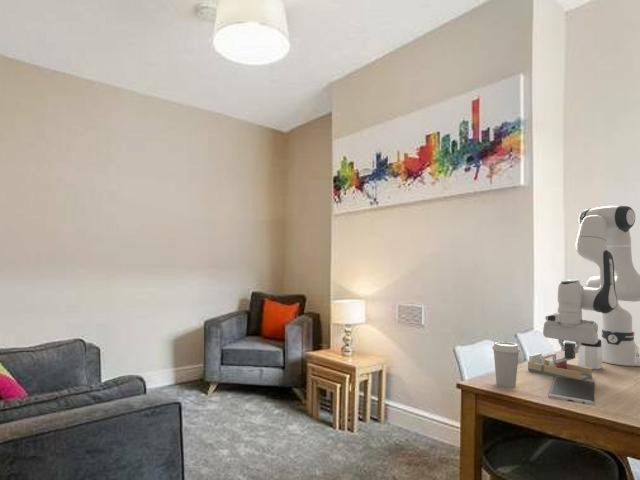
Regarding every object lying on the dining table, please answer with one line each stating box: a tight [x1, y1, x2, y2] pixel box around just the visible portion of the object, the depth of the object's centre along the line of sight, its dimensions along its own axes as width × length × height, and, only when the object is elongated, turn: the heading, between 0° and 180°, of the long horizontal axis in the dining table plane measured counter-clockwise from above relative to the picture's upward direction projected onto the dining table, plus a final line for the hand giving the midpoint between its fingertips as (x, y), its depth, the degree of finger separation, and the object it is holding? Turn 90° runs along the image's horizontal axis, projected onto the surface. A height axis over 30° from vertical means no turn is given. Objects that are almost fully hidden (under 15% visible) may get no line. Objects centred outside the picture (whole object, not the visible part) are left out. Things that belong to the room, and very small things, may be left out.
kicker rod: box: [553, 341, 576, 369], centre depth 178 cm, size 15×3×10 cm, turn 129°
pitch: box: [527, 352, 593, 381], centre depth 178 cm, size 11×20×7 cm, turn 38°
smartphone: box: [547, 376, 596, 406], centre depth 156 cm, size 13×27×2 cm, turn 148°
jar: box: [577, 338, 604, 370], centre depth 190 cm, size 9×8×12 cm
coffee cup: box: [491, 341, 521, 388], centre depth 161 cm, size 10×10×15 cm
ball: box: [549, 359, 556, 367], centre depth 179 cm, size 4×4×4 cm
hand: (569, 351), depth 182 cm, fingers closed on kicker rod, 3 cm apart
